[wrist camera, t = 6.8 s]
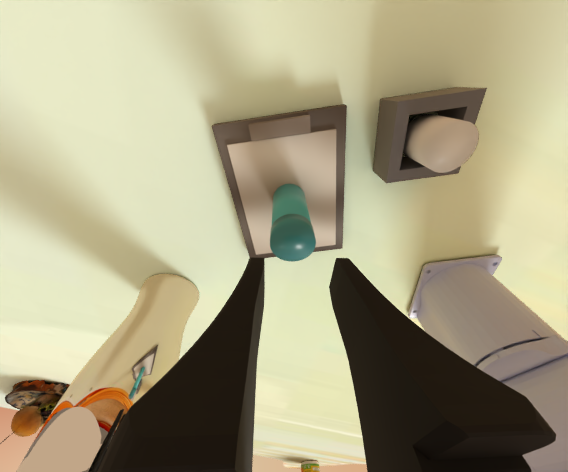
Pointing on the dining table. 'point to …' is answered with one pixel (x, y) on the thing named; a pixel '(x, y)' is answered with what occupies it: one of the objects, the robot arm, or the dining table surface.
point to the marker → (291, 224)
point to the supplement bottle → (310, 466)
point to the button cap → (440, 142)
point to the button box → (395, 123)
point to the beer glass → (115, 379)
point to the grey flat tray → (286, 171)
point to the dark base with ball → (33, 404)
